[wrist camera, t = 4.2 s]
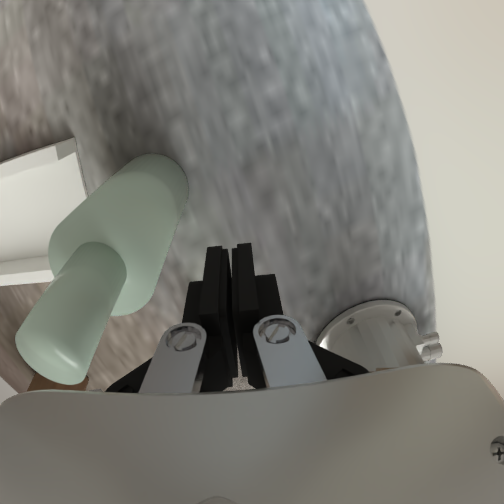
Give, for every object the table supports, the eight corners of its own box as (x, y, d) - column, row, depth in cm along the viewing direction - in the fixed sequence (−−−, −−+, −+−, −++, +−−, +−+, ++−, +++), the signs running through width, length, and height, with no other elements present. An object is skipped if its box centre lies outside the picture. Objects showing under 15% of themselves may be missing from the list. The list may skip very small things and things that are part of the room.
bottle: (182, 148, 23) (83, 283, 8) (194, 218, 26) (148, 411, 11) (111, 160, 23) (-38, 292, 8) (127, 227, 26) (32, 399, 11)
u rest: (74, 137, 22) (55, 145, 19) (106, 257, 28) (93, 277, 25) (-53, 185, 22) (-72, 196, 19) (-22, 273, 28) (-36, 288, 25)
